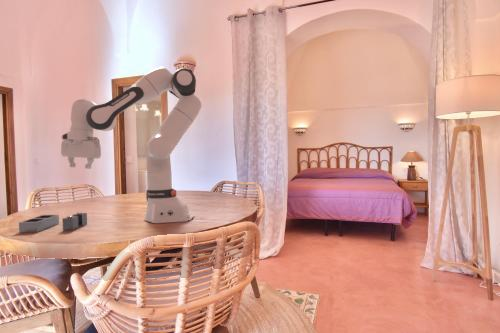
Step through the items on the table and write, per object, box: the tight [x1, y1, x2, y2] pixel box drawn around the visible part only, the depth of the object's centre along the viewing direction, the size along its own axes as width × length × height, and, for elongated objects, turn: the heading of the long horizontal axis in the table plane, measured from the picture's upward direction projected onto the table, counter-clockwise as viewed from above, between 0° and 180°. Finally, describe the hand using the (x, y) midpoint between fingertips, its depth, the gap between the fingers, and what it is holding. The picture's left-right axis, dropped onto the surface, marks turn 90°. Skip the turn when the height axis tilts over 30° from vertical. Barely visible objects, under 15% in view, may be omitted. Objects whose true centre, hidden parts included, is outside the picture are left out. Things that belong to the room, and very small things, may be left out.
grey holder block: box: [18, 214, 60, 234], centre depth 122 cm, size 14×7×4 cm, turn 2°
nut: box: [71, 211, 88, 227], centre depth 126 cm, size 4×4×6 cm
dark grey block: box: [61, 215, 79, 232], centre depth 119 cm, size 4×4×6 cm
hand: (80, 167), depth 128 cm, fingers open, 8 cm apart
